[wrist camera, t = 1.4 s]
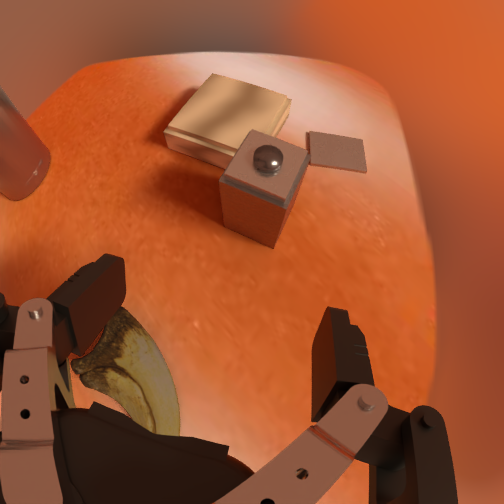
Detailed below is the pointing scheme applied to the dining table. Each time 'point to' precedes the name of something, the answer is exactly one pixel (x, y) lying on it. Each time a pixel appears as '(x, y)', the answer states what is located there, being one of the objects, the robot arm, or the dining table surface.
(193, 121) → the stand
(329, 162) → the cover plate
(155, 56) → the dining table surface
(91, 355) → the claw
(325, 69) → the dining table surface
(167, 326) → the dining table surface
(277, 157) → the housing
